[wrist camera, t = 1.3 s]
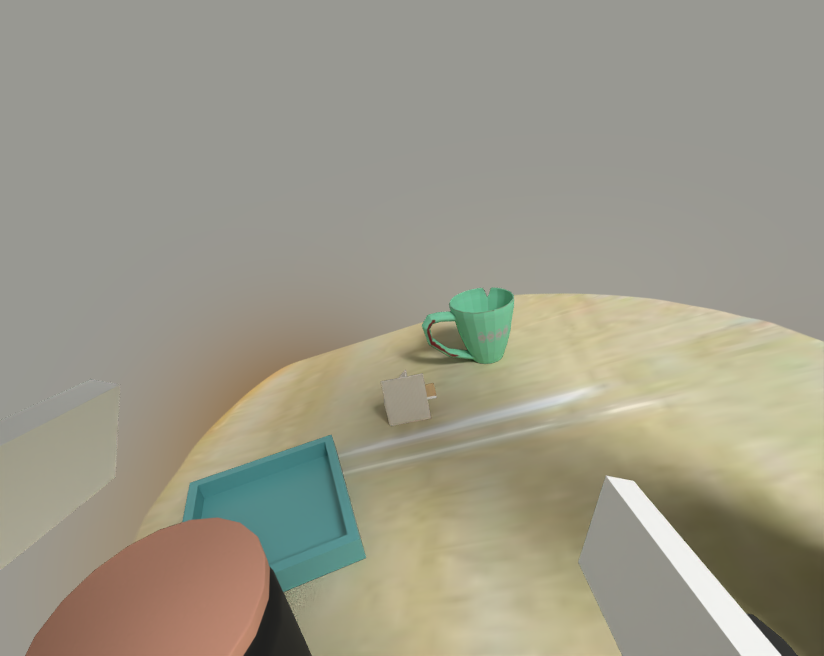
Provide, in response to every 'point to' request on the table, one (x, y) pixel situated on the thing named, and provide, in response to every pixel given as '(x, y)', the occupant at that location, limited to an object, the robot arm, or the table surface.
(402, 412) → the architectural model
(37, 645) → the coffee jar
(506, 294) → the mug
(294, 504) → the tray
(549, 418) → the table surface
